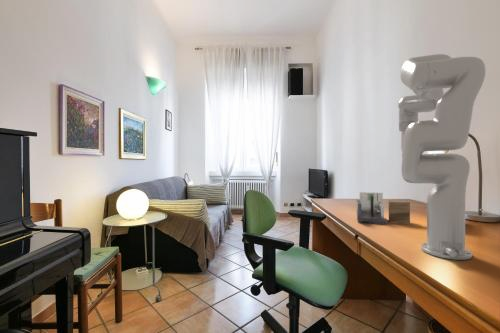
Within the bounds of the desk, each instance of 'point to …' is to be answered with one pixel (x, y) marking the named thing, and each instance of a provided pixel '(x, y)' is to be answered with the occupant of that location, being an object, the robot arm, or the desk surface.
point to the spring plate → (380, 210)
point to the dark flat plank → (372, 207)
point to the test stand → (369, 208)
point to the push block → (399, 212)
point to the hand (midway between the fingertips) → (409, 163)
